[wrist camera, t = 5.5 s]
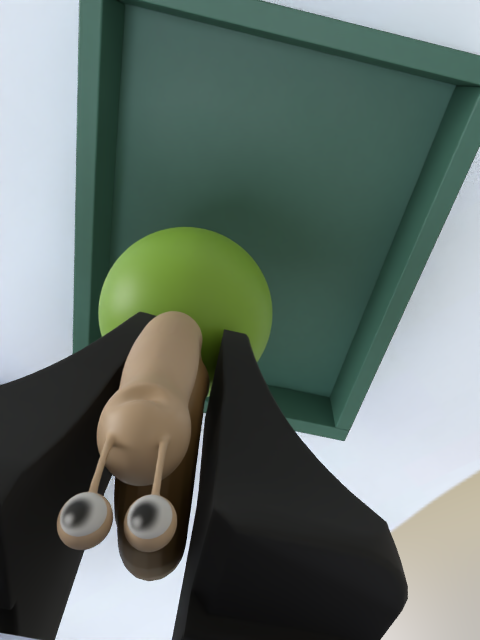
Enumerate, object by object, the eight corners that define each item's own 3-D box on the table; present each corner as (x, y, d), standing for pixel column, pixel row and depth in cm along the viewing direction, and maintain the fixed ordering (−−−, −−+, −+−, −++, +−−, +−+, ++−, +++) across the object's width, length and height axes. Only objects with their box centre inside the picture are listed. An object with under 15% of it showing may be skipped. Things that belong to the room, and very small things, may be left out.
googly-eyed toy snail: (280, 179, 14) (391, 542, 4) (257, 336, 18) (289, 729, 8) (112, 164, 14) (-197, 520, 4) (124, 327, 17) (-19, 727, 7)
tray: (337, 404, 25) (345, 441, 23) (92, 354, 25) (71, 386, 22) (479, 67, 17) (517, 64, 14) (110, -26, 16) (79, -46, 14)
